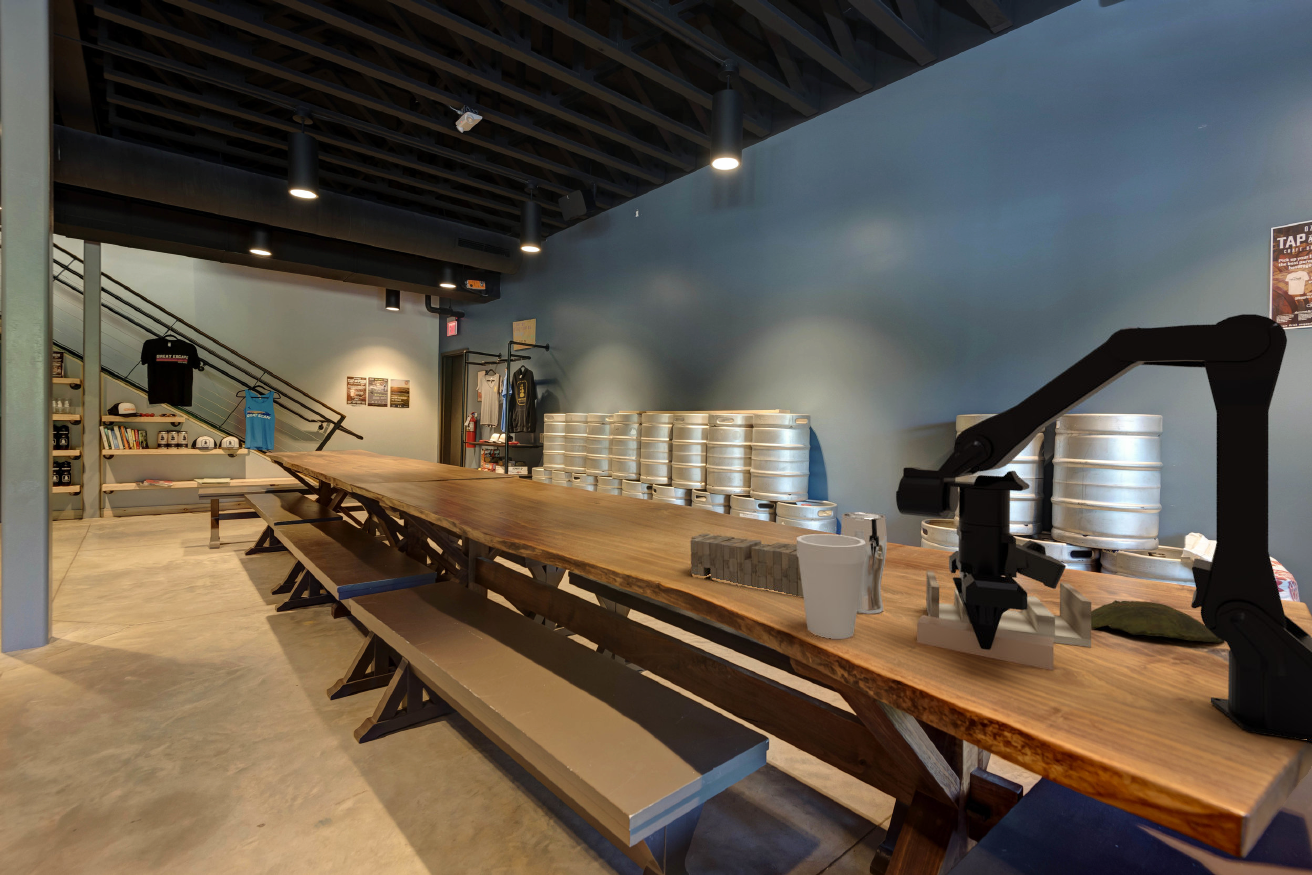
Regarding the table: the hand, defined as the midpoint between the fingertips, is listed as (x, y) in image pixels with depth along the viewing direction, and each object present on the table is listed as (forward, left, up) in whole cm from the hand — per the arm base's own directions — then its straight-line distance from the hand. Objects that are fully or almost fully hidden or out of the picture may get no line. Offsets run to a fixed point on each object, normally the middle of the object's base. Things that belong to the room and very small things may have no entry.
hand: (982, 642), depth 72 cm
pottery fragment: (+19, -23, -2) cm, 30 cm away
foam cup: (0, +19, -1) cm, 19 cm away
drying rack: (+12, -4, -1) cm, 13 cm away
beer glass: (+13, +15, -1) cm, 20 cm away
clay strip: (0, 0, -1) cm, 1 cm away
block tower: (+21, +33, -2) cm, 40 cm away
